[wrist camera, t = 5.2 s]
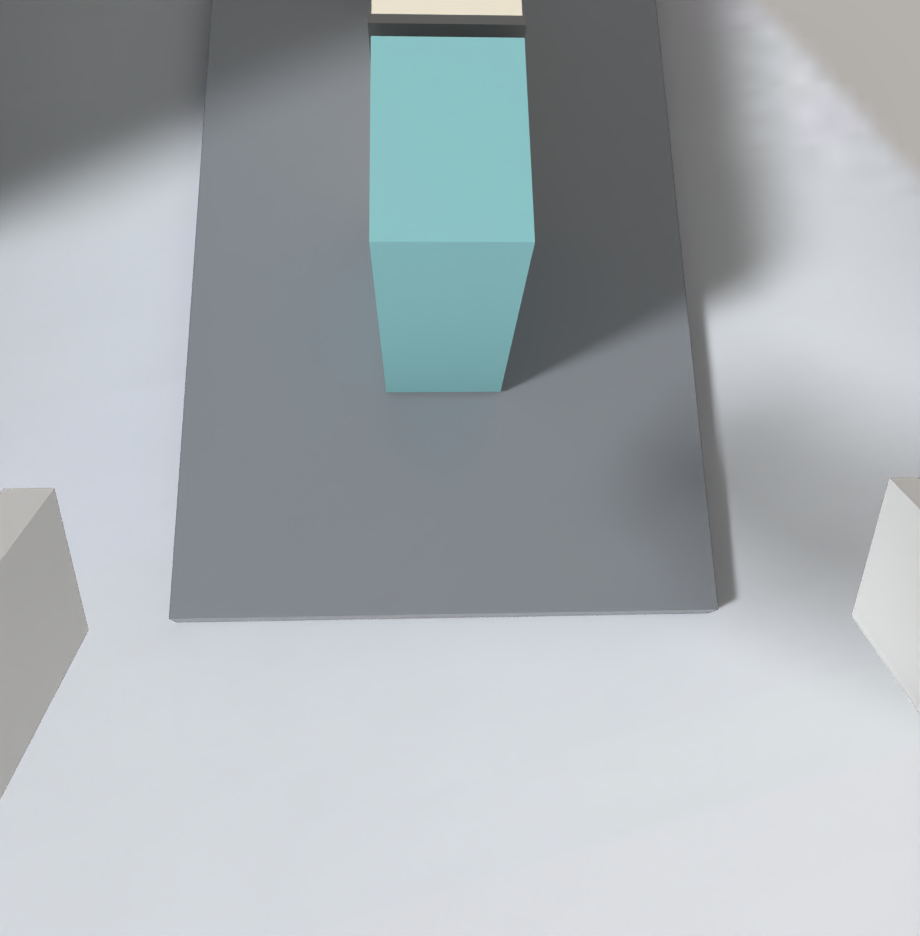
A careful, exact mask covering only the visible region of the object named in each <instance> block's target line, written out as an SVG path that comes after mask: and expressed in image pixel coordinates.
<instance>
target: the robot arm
mask: <svg viewBox="0 0 920 936" xmlns="http://www.w3.org/2000/svg"><path fill="white" fill-rule="evenodd" d="M852 617H853V619H854V620H855V622H856V623H857V625H858V626H859V628H860V629H861V630H862V632H863V633H864V635H865V636H866V638H867V639H868V641H869V642H870V643H871V645H872V646H873V648H874V649H875V651H876V652H877V654H878V655H879V656H880V658H881V659H882V661H883V662H884V664H885V665H886V666H887V668H888V669H889V671H890V672H891V674H892V675H893V677H894V678H895V679H896V681H897V682H898V684H899V685H900V687H901V688H902V690H903V691H904V692H905V694H906V695H907V697H908V698H909V700H910V701H911V703H912V704H913V705H914V707H915V708H916V710H917V711H918V713H919V714H920V478H889V481H888V485H887V488H886V492H885V496H884V499H883V503H882V507H881V510H880V514H879V518H878V521H877V525H876V529H875V532H874V536H873V540H872V543H871V547H870V551H869V554H868V558H867V562H866V565H865V569H864V573H863V576H862V580H861V584H860V587H859V591H858V595H857V598H856V602H855V606H854V609H853V613H852ZM87 632H88V626H87V622H86V618H85V614H84V609H83V605H82V601H81V597H80V593H79V589H78V584H77V580H76V576H75V572H74V568H73V564H72V559H71V555H70V551H69V547H68V543H67V539H66V534H65V530H64V526H63V522H62V518H61V514H60V510H59V505H58V501H57V497H56V493H55V489H54V488H14V489H3V490H2V491H1V492H0V799H1V797H2V795H3V793H4V791H5V789H6V787H7V785H8V784H9V782H10V780H11V778H12V776H13V774H14V772H15V770H16V768H17V766H18V764H19V762H20V761H21V759H22V757H23V755H24V753H25V751H26V749H27V747H28V745H29V743H30V741H31V739H32V737H33V736H34V734H35V732H36V730H37V728H38V726H39V724H40V722H41V720H42V718H43V716H44V714H45V713H46V711H47V709H48V707H49V705H50V703H51V701H52V699H53V697H54V695H55V693H56V691H57V690H58V688H59V686H60V684H61V682H62V680H63V678H64V676H65V674H66V672H67V670H68V668H69V667H70V665H71V663H72V661H73V659H74V657H75V655H76V653H77V651H78V649H79V647H80V645H81V644H82V642H83V640H84V638H85V636H86V634H87Z"/></svg>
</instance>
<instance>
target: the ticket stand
mask: <svg viewBox="0 0 920 936" xmlns="http://www.w3.org/2000/svg"><path fill="white" fill-rule="evenodd" d="M371 36H411V37H497V38H525V57H526V76H527V96H528V115H529V135H530V154H531V174H532V193H533V213H534V233H535V244H534V248H533V253H532V257H531V261H530V266H529V270H528V274H527V279H526V283H525V288H524V292H523V296H522V301H521V305H520V309H519V314H518V318H517V322H516V327H515V331H514V335H513V340H512V344H511V348H510V353H509V357H508V361H507V366H506V370H505V374H504V379H503V383H502V387H501V392H386V386H385V377H384V369H383V360H382V351H381V342H380V333H379V324H378V315H377V306H376V298H375V289H374V280H373V271H372V262H371V253H370V244H369V204H370V77H371ZM716 610H718V604H717V595H716V585H715V575H714V566H713V556H712V546H711V536H710V527H709V517H708V507H707V498H706V488H705V478H704V468H703V459H702V449H701V439H700V429H699V420H698V410H697V400H696V391H695V381H694V371H693V361H692V352H691V342H690V332H689V323H688V313H687V303H686V293H685V284H684V274H683V264H682V254H681V245H680V235H679V225H678V216H677V206H676V196H675V186H674V177H673V167H672V157H671V147H670V138H669V128H668V118H667V109H666V99H665V89H664V79H663V70H662V60H661V50H660V41H659V31H658V21H657V11H656V2H655V0H212V9H211V24H210V38H209V52H208V67H207V81H206V95H205V110H204V124H203V138H202V153H201V167H200V181H199V196H198V210H197V224H196V239H195V253H194V267H193V282H192V296H191V310H190V325H189V339H188V353H187V368H186V382H185V396H184V411H183V425H182V439H181V454H180V468H179V482H178V497H177V511H176V525H175V539H174V554H173V568H172V582H171V597H170V611H169V619H170V620H173V621H175V622H230V621H288V620H346V619H404V618H461V617H519V616H577V615H635V614H693V613H711V612H713V611H716Z"/></svg>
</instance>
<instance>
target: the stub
mask: <svg viewBox="0 0 920 936" xmlns="http://www.w3.org/2000/svg"><path fill="white" fill-rule="evenodd" d="M369 244H370V253H371V262H372V271H373V280H374V289H375V298H376V306H377V315H378V324H379V333H380V342H381V351H382V360H383V369H384V377H385V386H386V392H501V387H502V383H503V379H504V374H505V370H506V366H507V361H508V357H509V353H510V348H511V344H512V340H513V335H514V331H515V327H516V322H517V318H518V314H519V309H520V305H521V301H522V296H523V292H524V288H525V283H526V279H527V274H528V270H529V266H530V261H531V257H532V253H533V248H534V244H535V233H534V213H533V193H532V174H531V154H530V135H529V115H528V96H527V76H526V57H525V38H497V37H411V36H371V77H370V204H369Z"/></svg>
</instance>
